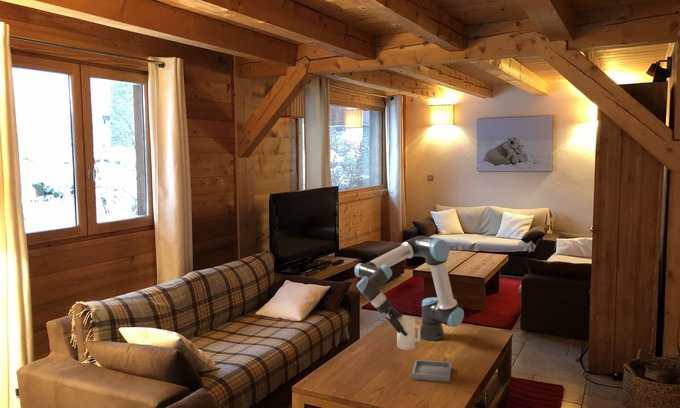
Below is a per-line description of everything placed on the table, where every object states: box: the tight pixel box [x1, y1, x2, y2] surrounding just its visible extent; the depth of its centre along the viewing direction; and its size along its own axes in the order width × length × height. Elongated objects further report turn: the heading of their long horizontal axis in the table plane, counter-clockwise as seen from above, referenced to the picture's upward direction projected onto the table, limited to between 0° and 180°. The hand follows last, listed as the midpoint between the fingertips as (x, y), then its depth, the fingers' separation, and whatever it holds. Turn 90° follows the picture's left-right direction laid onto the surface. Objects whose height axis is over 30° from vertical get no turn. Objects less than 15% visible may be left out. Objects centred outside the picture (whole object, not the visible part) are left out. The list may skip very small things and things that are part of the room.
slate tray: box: [411, 359, 452, 384], centre depth 281 cm, size 18×18×3 cm
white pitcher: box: [396, 315, 422, 351], centre depth 282 cm, size 9×12×14 cm
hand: (412, 336), depth 282 cm, fingers closed on white pitcher, 9 cm apart
